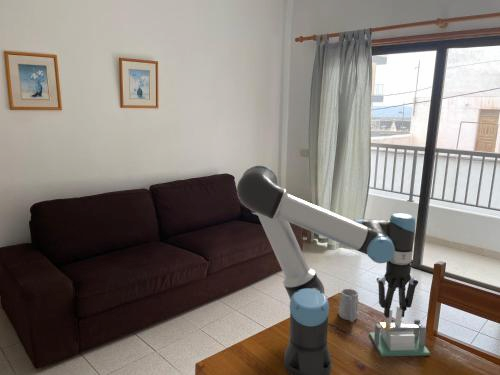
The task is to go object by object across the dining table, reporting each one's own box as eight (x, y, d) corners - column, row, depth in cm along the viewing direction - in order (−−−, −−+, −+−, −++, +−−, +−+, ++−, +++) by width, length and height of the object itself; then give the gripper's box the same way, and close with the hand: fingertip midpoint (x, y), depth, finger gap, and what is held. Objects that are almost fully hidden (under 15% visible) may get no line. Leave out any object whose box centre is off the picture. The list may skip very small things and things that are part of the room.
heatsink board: (381, 356, 126) (383, 334, 124) (369, 334, 138) (370, 314, 136) (429, 355, 126) (431, 333, 125) (413, 333, 138) (415, 313, 136)
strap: (383, 330, 129) (383, 326, 129) (379, 325, 132) (380, 321, 132) (424, 331, 130) (424, 327, 129) (419, 326, 133) (420, 322, 132)
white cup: (355, 310, 154) (357, 282, 151) (363, 327, 142) (365, 297, 140) (336, 310, 154) (337, 282, 152) (342, 327, 143) (344, 297, 140)
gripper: (379, 265, 121) (374, 332, 126) (428, 265, 122) (420, 331, 127) (371, 256, 129) (366, 319, 134) (417, 256, 129) (410, 319, 134)
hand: (393, 325), depth 130 cm, fingers closed on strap, 3 cm apart
